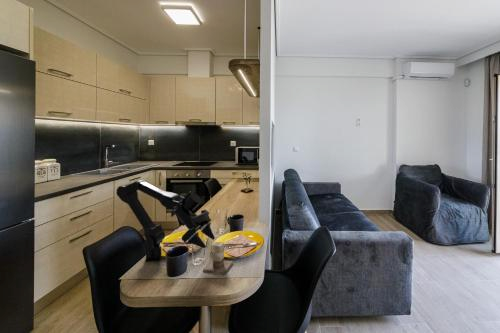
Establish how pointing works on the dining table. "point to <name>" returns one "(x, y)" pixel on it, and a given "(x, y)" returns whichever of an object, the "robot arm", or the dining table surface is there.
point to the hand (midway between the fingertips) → (209, 243)
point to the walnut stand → (218, 267)
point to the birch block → (218, 251)
